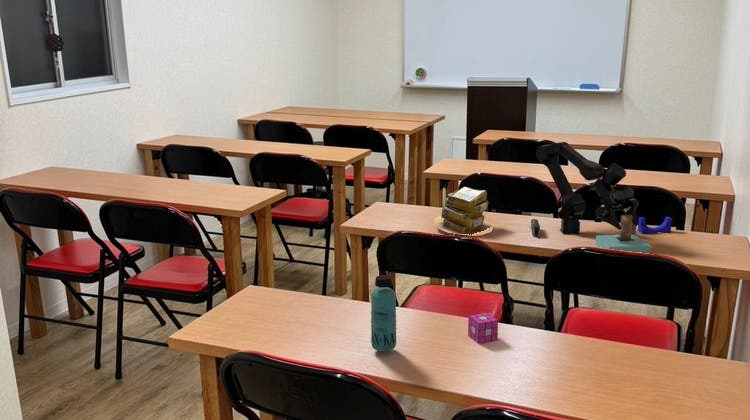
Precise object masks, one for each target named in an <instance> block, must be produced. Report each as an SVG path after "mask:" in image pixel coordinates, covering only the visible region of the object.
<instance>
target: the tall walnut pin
mask: <svg viewBox="0 0 750 420" xmlns="http://www.w3.org/2000/svg"><path fill="white" fill-rule="evenodd" d="M623 214H624V213H623ZM623 214H621V215H620V225H621V228H622V229H621V230H619V235H620V239H619V241H631V232H632V219H633V216H632V215H627V214H624V215H623Z"/></svg>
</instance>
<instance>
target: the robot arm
mask: <svg viewBox="0 0 750 420" xmlns="http://www.w3.org/2000/svg"><path fill="white" fill-rule="evenodd" d="M559 154H560V155H561V156H562V157H563V158H565V159H566V160H567V161H568V162H569V163H571V165H573V166H574V167H576V168H577V169H578V171H579V174H580V175H581V177H583V178H584V180H585V181H588V182H589V181H594V180H595V181H594V182H590V186H589V188H588V189H589V191H594V190H595V191H596V193H597V195H598V196H599V198H600V199H599V202H600V203H604V204H601V205H600V206H599V207H598V208H597V209H596V210H595V211H594V216H595V218H596V219H600V221H603V222H605V223H607V224H609V225H611V226H612V227H614V228H615V229H617V230H619V231H620V230H621V229H622V228H621V225H620V224H621V222H619V219H618V218H617V217H616V212H617V211H621V212H622V213H623V214H622V215H624V214H627V215H632V216H633V219H632V223H633V224H634V225H635V226H636V227H638V222H639V220H638V216H637V212H636V211H637V208H638V207H639V204H640V202H639V200H638V199H637V198H634V194H635V191H634V189H633V188H632V187H631V186H627V187H625V188H624V189H623V190H620V191H619V190H618V189H614V188H613V187H615V186H617V185H618V184H619V183H620V182H621V181H622V180H624V178H625V177H626V176H627V171H626V170H625V169H624V168H623V167H622V166H620V165H618V164H617V163H616V162H612V163H610V165H609V166H608V167H607V168H604V167H603V165H601V164H600V163H598V162H597V161H593V160H589V159H587V158H586V157H584V156H583V155H582V154H581V153H579V152H578V150H575V148H573V147H572V146H571V145H570V144H569V143H568V142H566V141H562V142H561V141H560V142H559V141H558V142H556V143H554V144H551V143H549V144H544V145H542V144H541V145H539V146H537V148H536V152H535V156H536V157H537V159H538V161H539V162H540V163H541V164H543V165H544V166H545V167H546V168H547V170H548V171H549V174H550V176H551V178H552V180H553V181H554V184H555V186H556V189H557V190H558V192H559V193H560V196H561V206H562V208H561V209H560V210H559V211H558V212H557V215H558V218H559V219H560V223H561V225H560V228H559V232H561V233H562V234H563V235H580V234H581V232H580V231H581V230H580V229H581V221H580V218H582V217H583V216H584V215H583V214H584V213H585V211H586V208H587V206H586V201H585V200H584V197H583V195H582V194H581V193H576V192H574V189H573V187H572V186H571V184H570V182H569V180H568V178H567V176H566V173H565V172H564V170H563V168H562V166H561V164H560V162H559V161H560V160H559V159H560V155H559Z"/></svg>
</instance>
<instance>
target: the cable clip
mask: <svg viewBox="0 0 750 420" xmlns="http://www.w3.org/2000/svg"><path fill="white" fill-rule="evenodd" d="M672 220H673V218H671V217H670V216H665V217H664V220H663V222H662V223H661V224H660V225H659V226H656V227H652V226H651V227H650V226H648V224H647V222H646V218H644V216H639V217H638V225H637V232H638V231H639V233H640V234H641V235H657V234H659V233H658V232H661V233H660V234H665V233H666V234H667V233H669V234H670V233H672V222H673V221H672Z"/></svg>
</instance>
